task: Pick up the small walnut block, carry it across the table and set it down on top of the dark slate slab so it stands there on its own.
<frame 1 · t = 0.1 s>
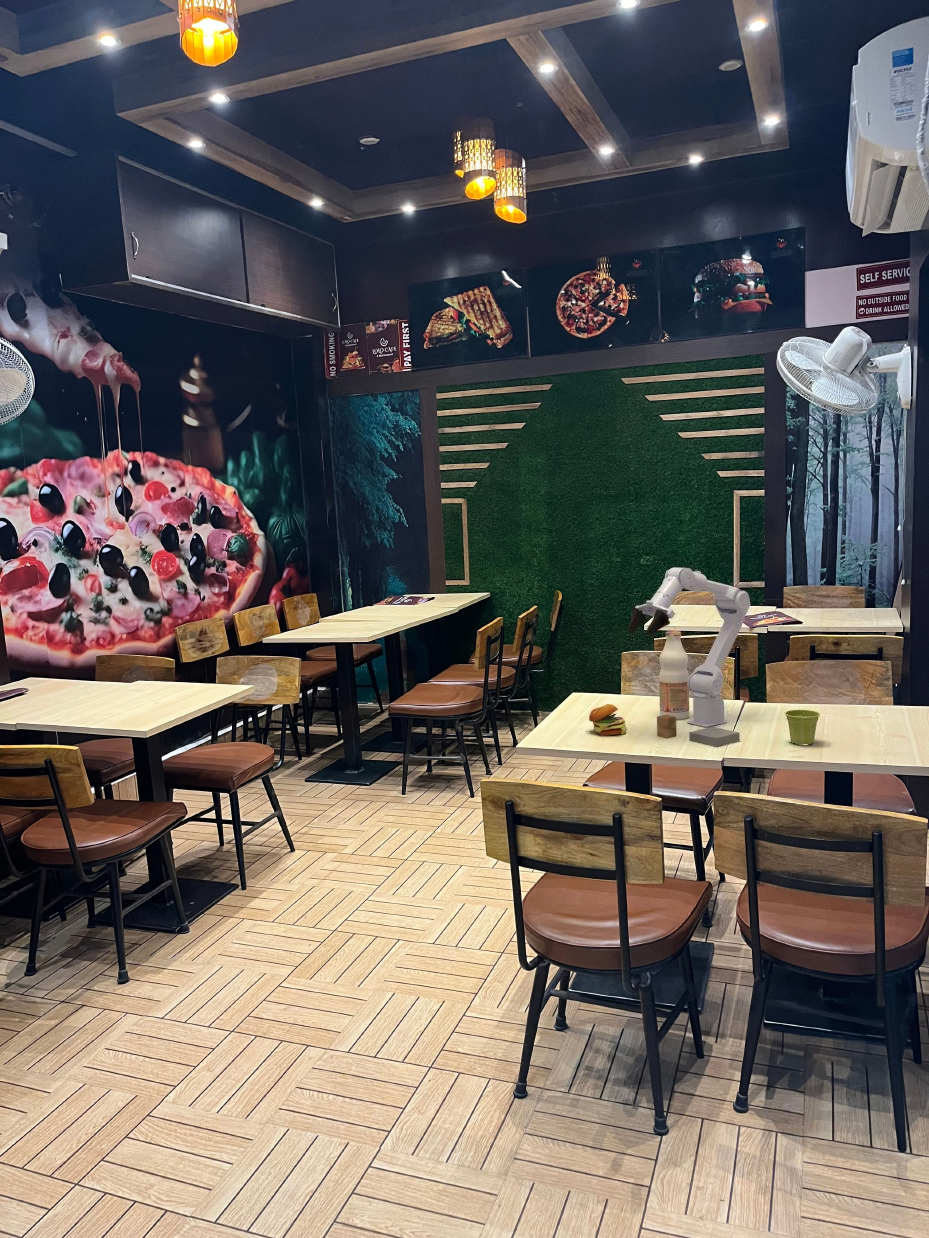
hand: (639, 632, 263), 32 cm above the table, fingers open, 7 cm apart
cheeseburger: (607, 733, 276), on the table
plant pot: (802, 743, 255), on the table
walnut block: (666, 736, 269), on the table
slate base: (714, 742, 261), on the table
fruit juice: (674, 717, 293), on the table
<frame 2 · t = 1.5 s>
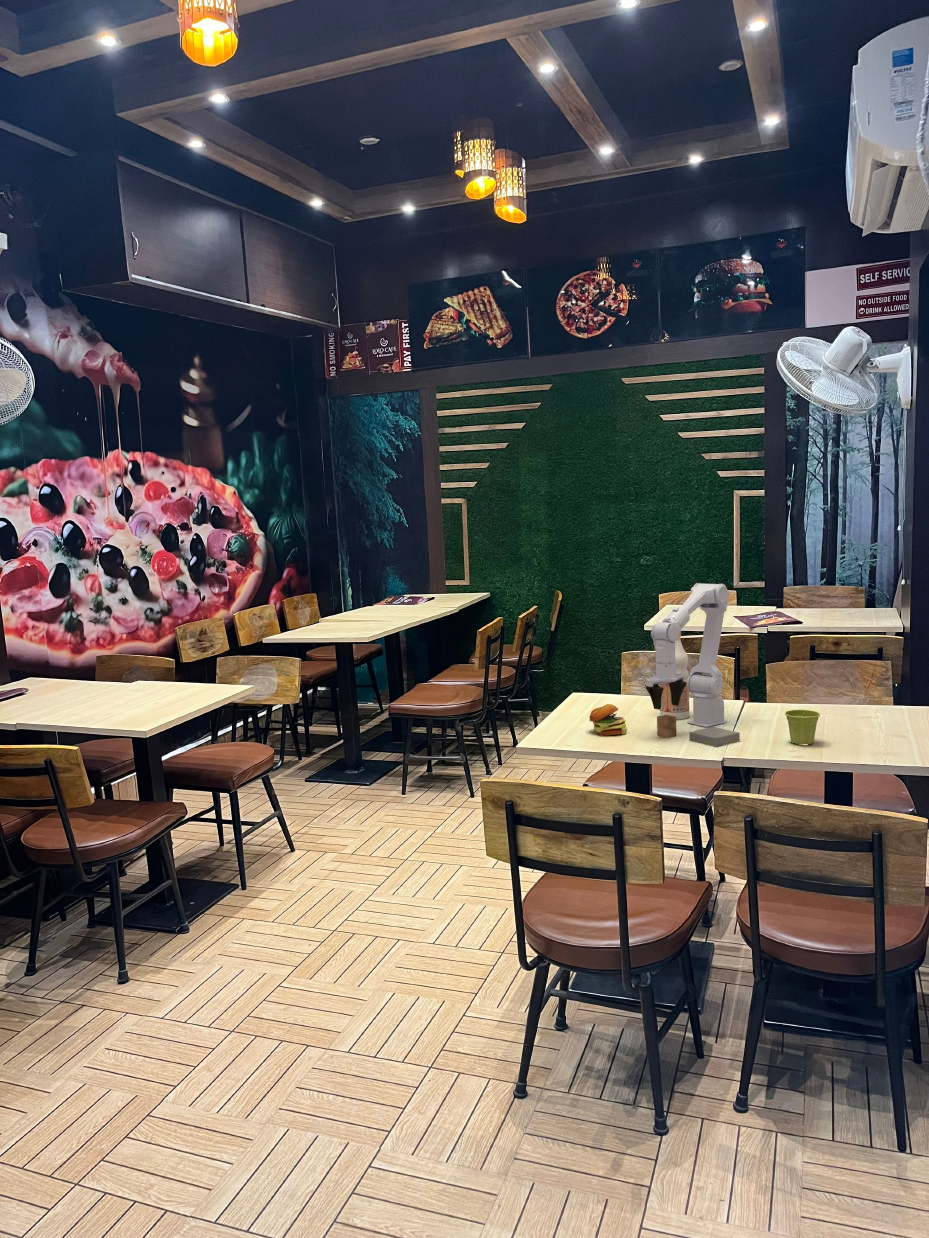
hand: (666, 707, 268), 9 cm above the table, fingers open, 7 cm apart
nothing on the table moved.
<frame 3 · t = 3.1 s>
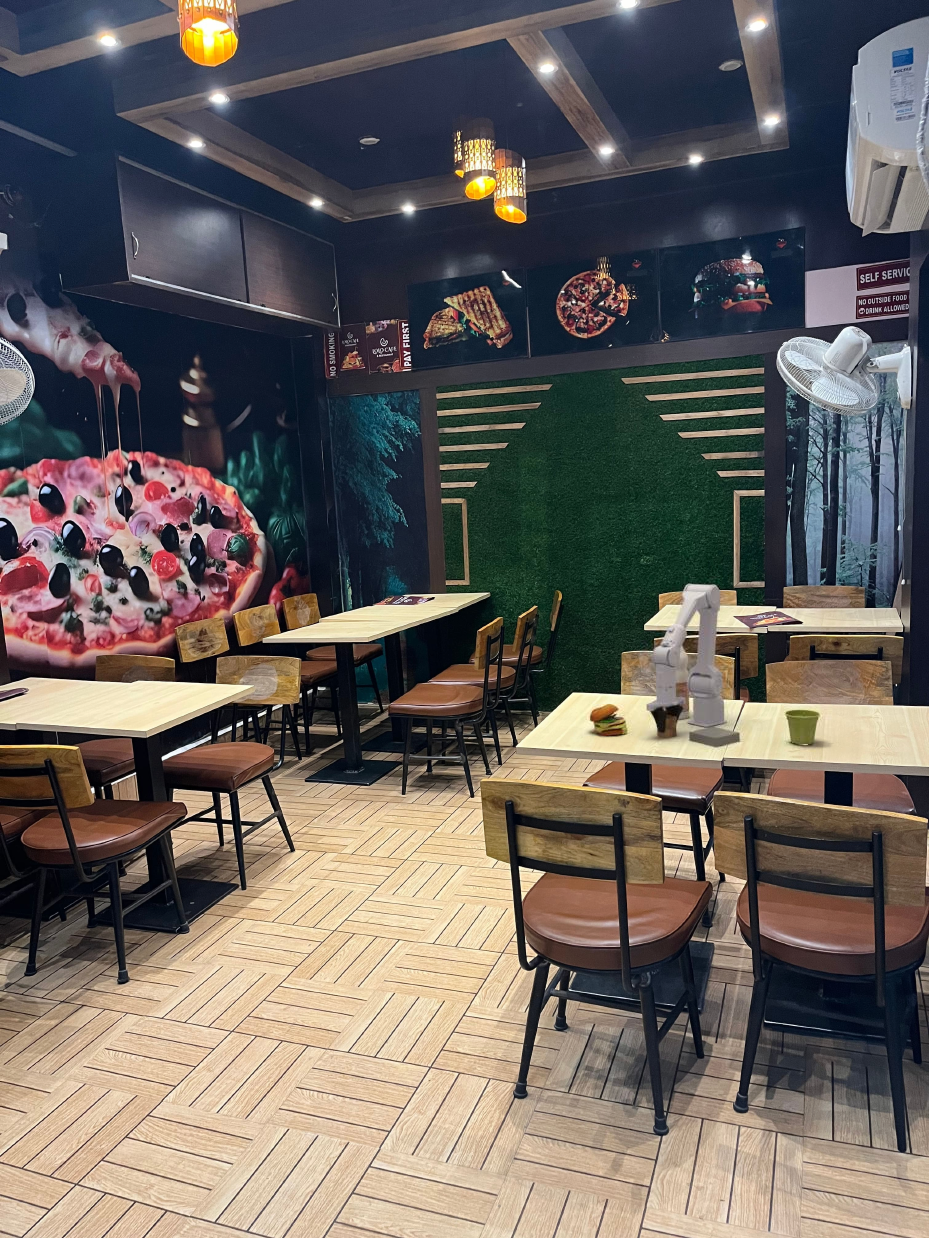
hand: (666, 730, 269), 2 cm above the table, fingers closed on walnut block, 4 cm apart
walnut block: (666, 736, 269), on the table, touching gripper
everything else where it was.
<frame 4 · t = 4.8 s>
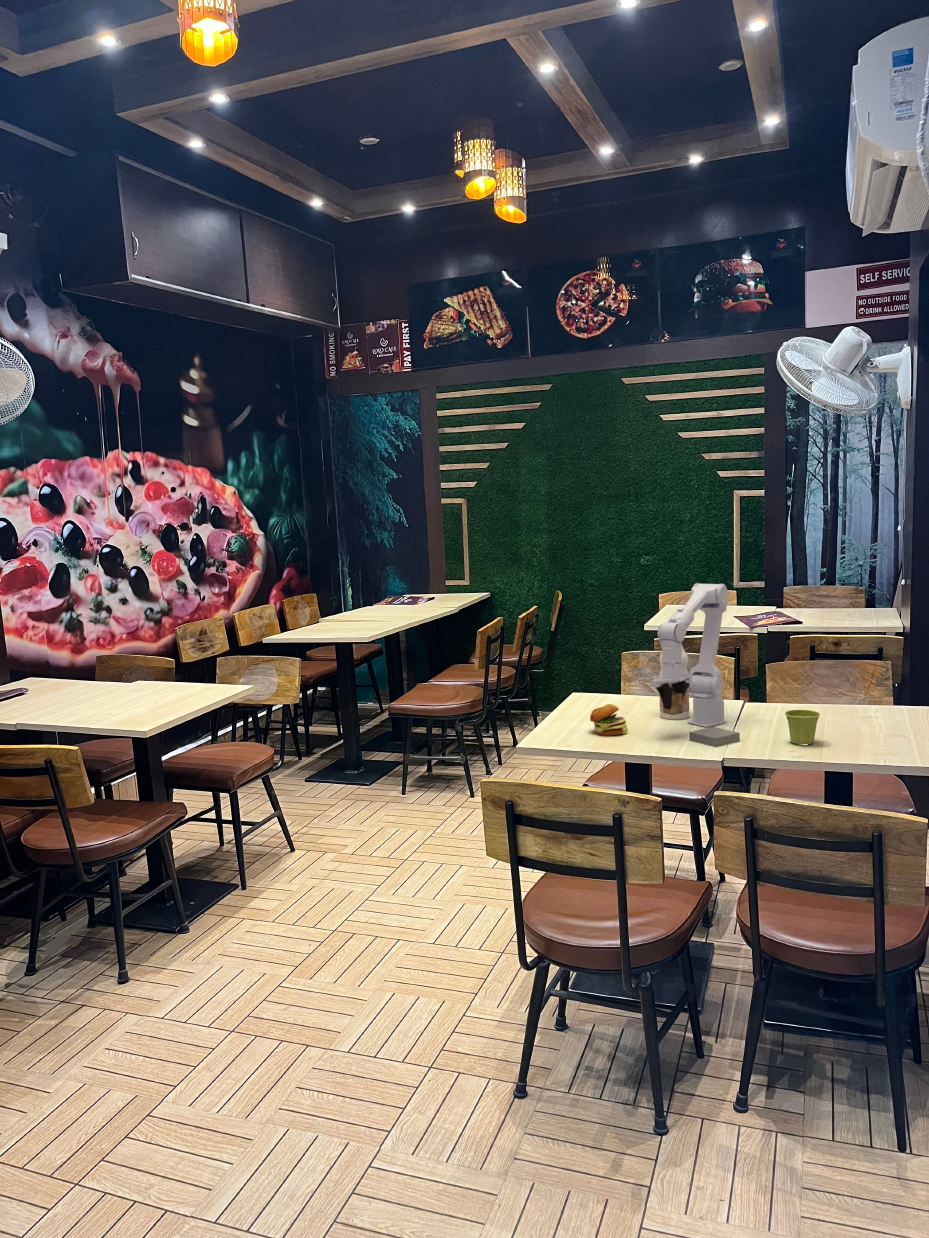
hand: (672, 707, 267), 9 cm above the table, fingers closed on walnut block, 4 cm apart
walnut block: (672, 713, 267), point 7 cm above the table, touching gripper
everything else where it was.
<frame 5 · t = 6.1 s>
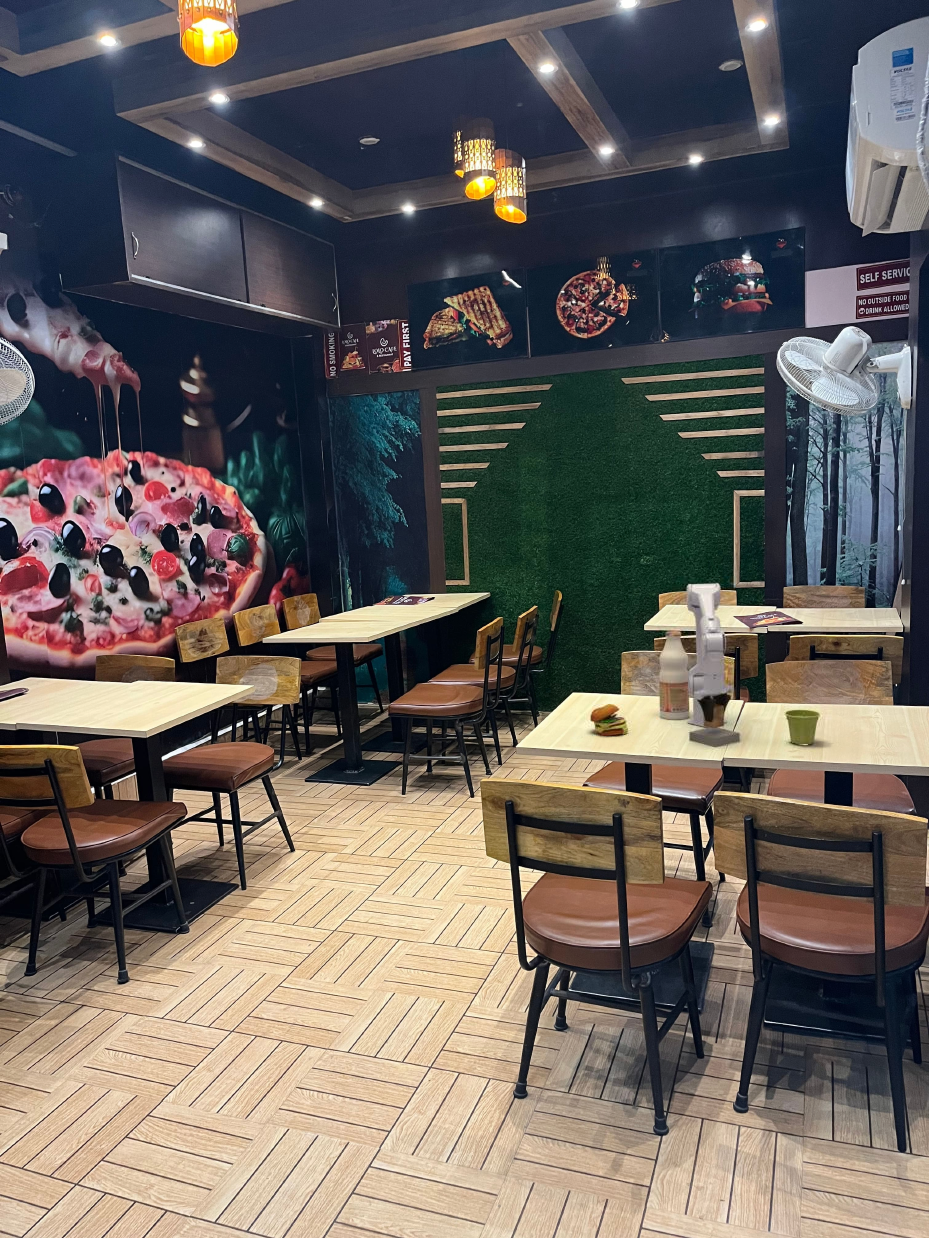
hand: (714, 720, 260), 6 cm above the table, fingers closed on walnut block, 4 cm apart
walnut block: (713, 726, 261), point 4 cm above the table, touching gripper
everything else where it was.
when the fingers open (6 cm above the table, at t = 6.8 s): walnut block drops 2 cm, point 2 cm above the table.
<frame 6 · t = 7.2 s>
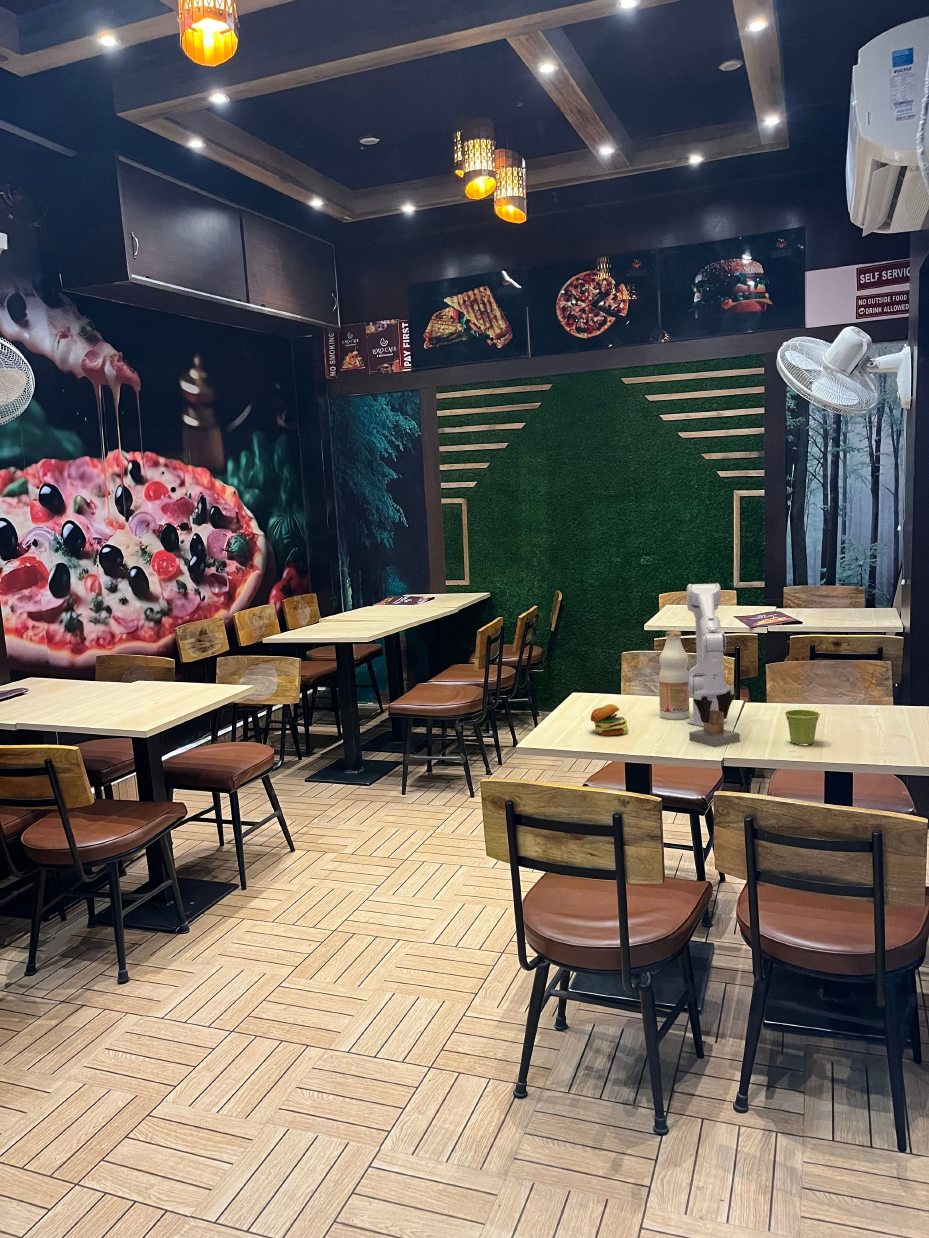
hand: (714, 720, 260), 6 cm above the table, fingers open, 7 cm apart
walnut block: (713, 732, 261), point 2 cm above the table
everything else where it was.
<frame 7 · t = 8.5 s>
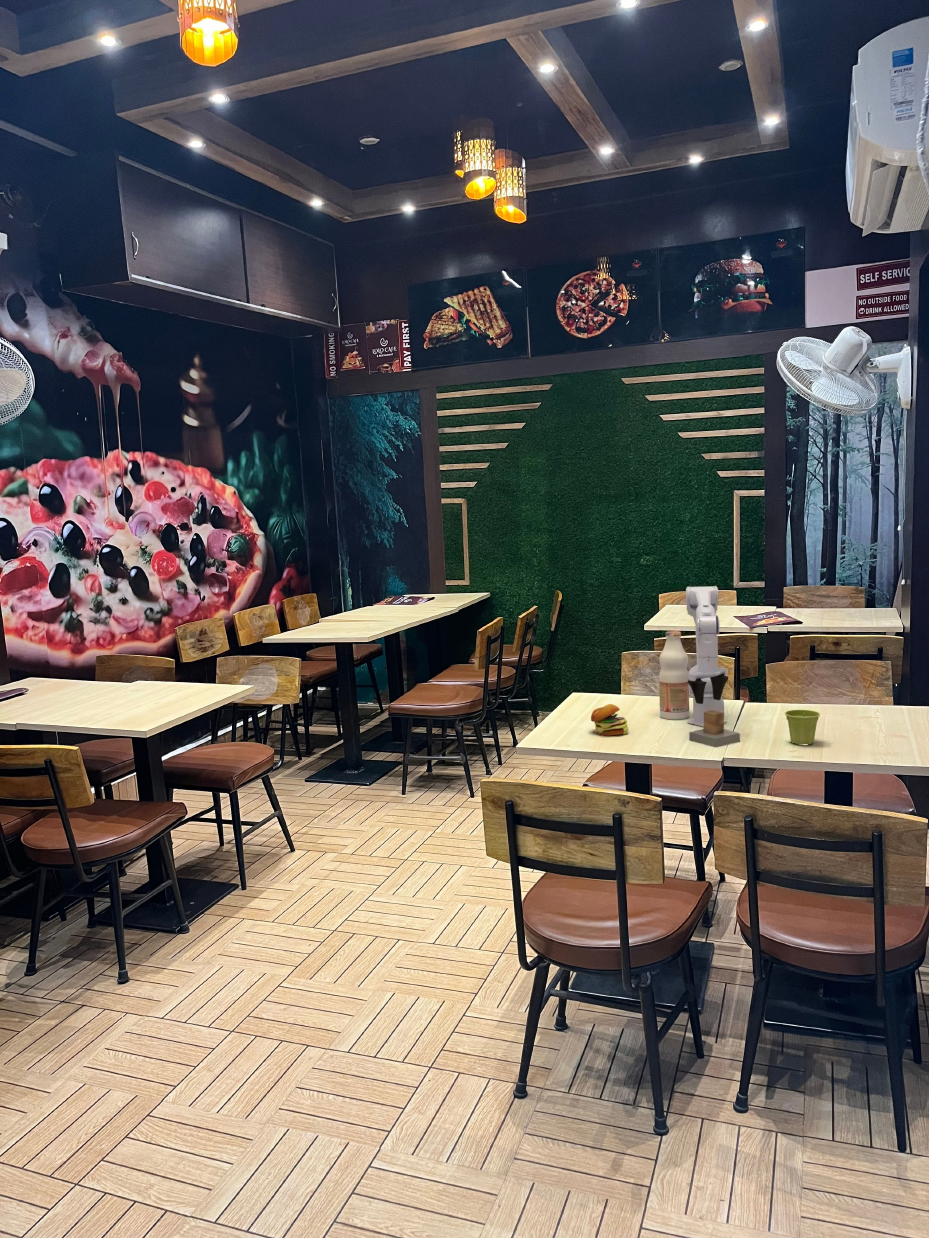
hand: (708, 701, 266), 10 cm above the table, fingers open, 7 cm apart
walnut block: (713, 732, 261), point 2 cm above the table, touching slate base
slate base: (714, 742, 261), on the table, touching walnut block
everything else where it was.
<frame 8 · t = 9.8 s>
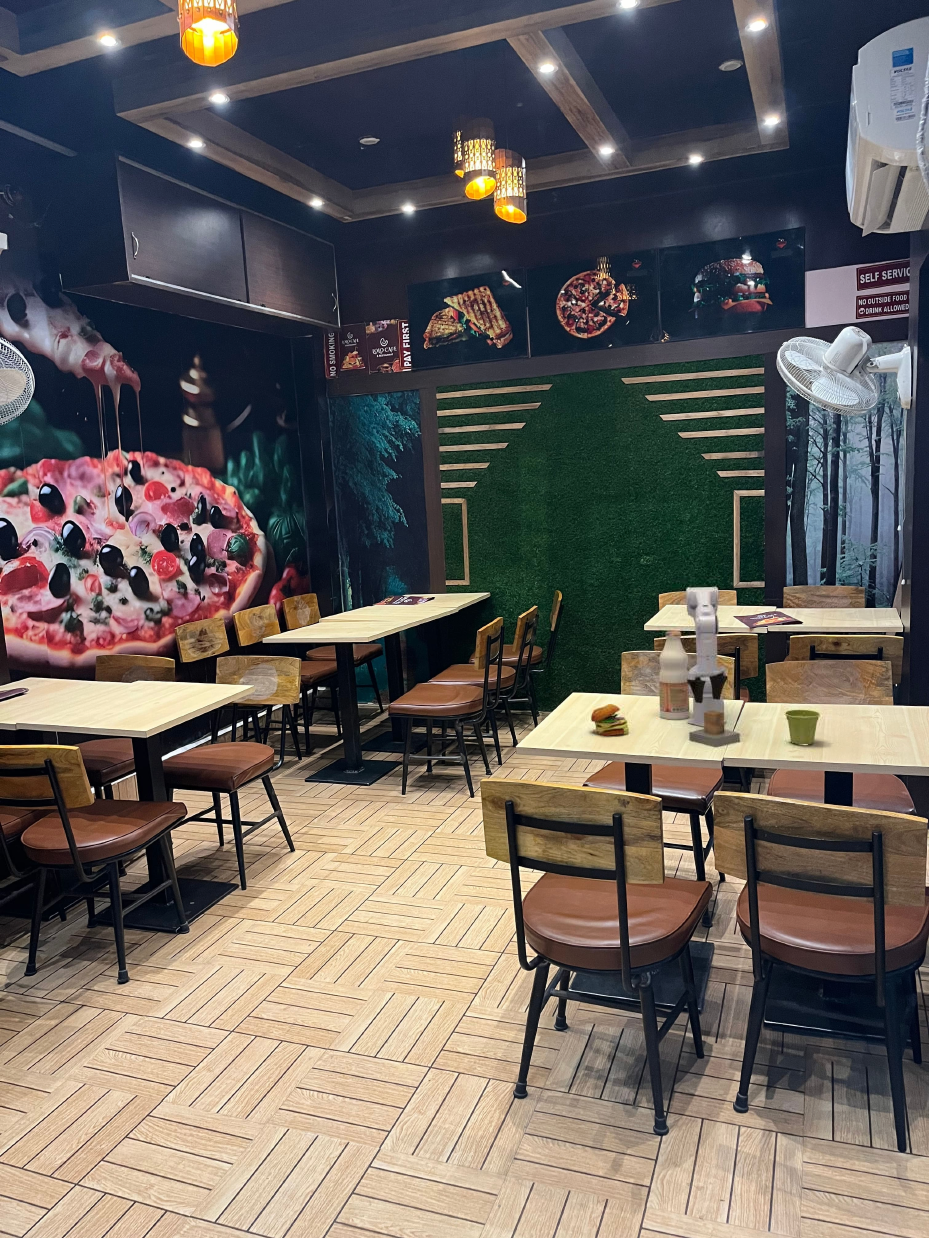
hand: (707, 700, 267), 10 cm above the table, fingers open, 7 cm apart
nothing on the table moved.
at the end: walnut block inside the target area on the slate base (0.0 cm from its centre), point 3.1 cm above the slate base's base; walnut block tilted 1°; the gripper is holding nothing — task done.
